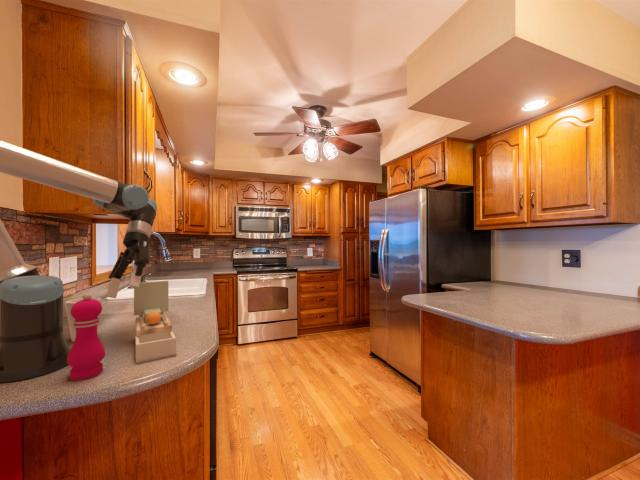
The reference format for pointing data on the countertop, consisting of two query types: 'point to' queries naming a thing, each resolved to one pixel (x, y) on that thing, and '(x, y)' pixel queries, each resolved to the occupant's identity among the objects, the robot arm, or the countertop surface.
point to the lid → (151, 298)
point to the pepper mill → (86, 340)
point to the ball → (153, 318)
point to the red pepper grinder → (70, 319)
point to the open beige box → (155, 346)
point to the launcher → (147, 328)
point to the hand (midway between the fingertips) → (122, 291)
